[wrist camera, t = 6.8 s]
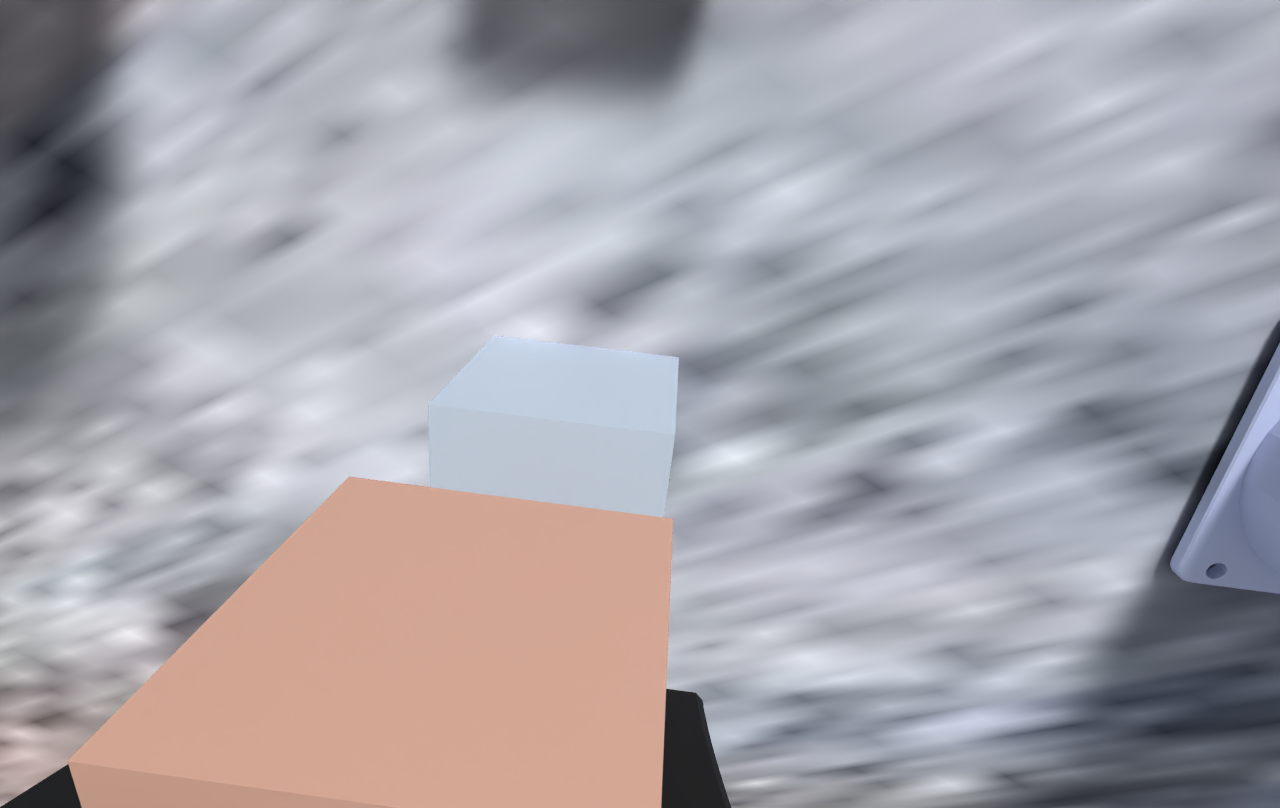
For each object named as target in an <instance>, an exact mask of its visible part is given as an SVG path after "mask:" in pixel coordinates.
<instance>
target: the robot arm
mask: <svg viewBox="0 0 1280 808" xmlns="http://www.w3.org/2000/svg"><path fill="white" fill-rule="evenodd" d="M1215 563H1216V564H1215ZM1213 564H1215V565H1214V566H1213V567H1212V568H1210V569H1208V568H1209V567H1210V566H1211V565H1213ZM1170 566H1171V569H1172V571H1173V572H1175V573H1176V574H1177V575H1178V576H1179V577H1180V578H1181V579H1182V580H1184V581H1187V582H1191V583H1199V584H1207V585H1214V586H1222V587H1230V588H1237V589H1245V590H1253V591H1261V592H1268V593H1276V594H1280V343H1279V345H1278V347H1277V349H1276V351H1275V353H1274V355H1273V357H1272V359H1271V361H1270V363H1269V365H1268V367H1267V369H1266V371H1265V373H1264V375H1263V377H1262V379H1261V381H1260V383H1259V385H1258V387H1257V389H1256V391H1255V393H1254V395H1253V397H1252V399H1251V401H1250V403H1249V405H1248V407H1247V409H1246V411H1245V413H1244V415H1243V417H1242V419H1241V421H1240V423H1239V425H1238V427H1237V429H1236V431H1235V433H1234V435H1233V437H1232V439H1231V441H1230V443H1229V445H1228V447H1227V449H1226V451H1225V453H1224V455H1223V457H1222V459H1221V461H1220V463H1219V465H1218V467H1217V469H1216V471H1215V473H1214V475H1213V477H1212V479H1211V481H1210V483H1209V485H1208V487H1207V489H1206V491H1205V493H1204V495H1203V497H1202V499H1201V501H1200V503H1199V505H1198V507H1197V509H1196V511H1195V513H1194V515H1193V517H1192V519H1191V521H1190V523H1189V525H1188V527H1187V529H1186V531H1185V533H1184V535H1183V537H1182V539H1181V541H1180V543H1179V545H1178V547H1177V549H1176V551H1175V553H1174V555H1173V557H1172V559H1171V563H1170ZM1207 569H1208V570H1207ZM0 808H82V807H81V803H80V800H79V797H78V794H77V791H76V787H75V784H74V781H73V778H72V774H71V771H70V768H69V765H66V766H65V767H63V768H62V769H60V770H58V771H57V772H55V773H54V774H52V775H50V776H49V777H47V778H46V779H44V780H43V781H41V782H39V783H38V784H36V785H35V786H33V787H32V788H30V789H28V790H27V791H25V792H24V793H22V794H20V795H19V796H17V797H16V798H14V799H13V800H11V801H9V802H8V803H6V804H5V805H3V806H1V807H0ZM661 808H731V805H730V802H729V799H728V796H727V793H726V790H725V787H724V784H723V781H722V777H721V774H720V771H719V768H718V764H717V761H716V758H715V754H714V750H713V747H712V743H711V739H710V735H709V731H708V727H707V722H706V718H705V713H704V708H703V701H702V699H701V698H700V697H699V696H698V695H697V694H696V693H693V692H685V691H678V690H671V689H666V704H665V728H664V753H663V777H662V801H661Z"/></svg>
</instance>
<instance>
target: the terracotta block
mask: <svg viewBox="0 0 1280 808" xmlns="http://www.w3.org/2000/svg"><path fill="white" fill-rule="evenodd" d="M672 534H673V519H671V518H664V517H656V516H648V515H640V514H633V513H625V512H617V511H610V510H602V509H594V508H586V507H579V506H571V505H563V504H556V503H548V502H540V501H532V500H525V499H517V498H509V497H502V496H494V495H486V494H478V493H471V492H463V491H455V490H448V489H440V488H432V487H424V486H417V485H409V484H401V483H394V482H386V481H378V480H370V479H363V478H355V477H348V478H347V479H346V480H345V481H344V482H343V483H342V484H341V485H340V486H339V487H338V488H337V489H336V490H335V491H334V492H333V493H332V494H331V496H330V497H329V498H328V499H327V500H326V501H325V502H324V503H323V504H322V505H321V506H320V507H319V508H318V509H317V510H316V511H315V512H314V513H313V514H312V515H311V516H310V517H309V518H308V519H307V520H306V521H305V522H304V523H303V524H302V525H301V526H300V527H299V528H298V529H297V530H296V531H295V532H294V533H293V534H292V535H291V536H290V537H289V538H288V539H287V540H286V541H285V542H284V543H283V544H282V545H281V546H280V547H279V548H278V549H277V550H276V551H275V552H274V553H273V554H272V555H271V556H270V557H269V558H268V559H267V560H266V561H265V562H264V563H263V564H262V565H261V566H260V567H259V568H258V569H257V570H256V571H255V572H254V573H253V574H252V575H251V576H250V577H249V578H248V579H247V580H246V581H245V582H244V583H243V584H242V585H241V586H240V587H239V588H238V589H237V591H236V592H235V593H234V594H233V595H232V596H231V597H230V598H229V599H228V600H227V601H226V602H225V603H224V604H223V605H222V606H221V607H220V608H219V609H218V610H217V611H216V612H215V613H214V614H213V615H212V616H211V617H210V618H209V619H208V620H207V621H206V622H205V623H204V624H203V625H202V626H201V627H200V628H199V629H198V630H197V631H196V632H195V633H194V634H193V635H192V636H191V637H190V638H189V639H188V640H187V641H186V642H185V643H184V644H183V645H182V646H181V647H180V648H179V649H178V650H177V651H176V652H175V653H174V654H173V655H172V656H171V657H170V658H169V659H168V660H167V661H166V662H165V663H164V664H163V665H162V666H161V667H160V668H159V669H158V670H157V671H156V672H155V673H154V674H153V675H152V676H151V677H150V678H149V679H148V680H147V681H146V682H145V683H144V684H143V685H142V687H141V688H140V689H139V690H138V691H137V692H136V693H135V694H134V695H133V696H132V697H131V698H130V699H129V700H128V701H127V702H126V703H125V704H124V705H123V706H122V707H121V708H120V709H119V710H118V711H117V712H116V713H115V714H114V715H113V716H112V717H111V718H110V719H109V720H108V721H107V722H106V723H105V724H104V725H103V726H102V727H101V728H100V729H99V730H98V731H97V732H96V733H95V734H94V735H93V736H92V737H91V738H90V739H89V740H88V741H87V742H86V743H85V744H84V745H83V746H82V747H81V748H80V749H79V750H78V751H77V752H76V753H75V754H74V755H73V756H72V757H71V758H70V759H69V760H68V761H67V762H68V765H69V768H70V771H71V774H72V778H73V781H74V784H75V787H76V791H77V794H78V797H79V800H80V803H81V807H82V808H661V801H662V777H663V753H664V728H665V704H666V680H667V656H668V631H669V607H670V583H671V559H672Z"/></svg>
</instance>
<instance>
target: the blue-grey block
mask: <svg viewBox="0 0 1280 808" xmlns="http://www.w3.org/2000/svg"><path fill="white" fill-rule="evenodd" d="M678 363H679V357H671V356H663V355H654V354H646V353H638V352H629V351H621V350H612V349H604V348H596V347H587V346H579V345H570V344H562V343H554V342H545V341H537V340H528V339H520V338H512V337H503V336H495V335H494V336H493V337H492V338H491V339H490V340H489V342H488V343H487V344H486V345H485V346H484V347H483V348H482V349H481V350H480V351H479V352H478V353H477V354H476V355H475V356H474V357H473V358H472V359H471V360H470V361H469V362H468V363H467V364H466V365H465V367H464V368H463V369H462V370H461V371H460V372H459V373H458V374H457V375H456V376H455V377H454V378H453V379H452V380H451V381H450V382H449V383H448V384H447V385H446V386H445V387H444V388H443V389H442V390H441V392H440V393H439V394H438V395H437V396H436V397H435V398H434V399H433V400H432V401H431V402H430V403H429V404H428V421H429V466H430V487H432V488H440V489H448V490H455V491H463V492H471V493H478V494H486V495H494V496H502V497H509V498H517V499H525V500H532V501H540V502H548V503H556V504H563V505H571V506H579V507H586V508H594V509H602V510H610V511H617V512H625V513H633V514H640V515H648V516H656V517H664V512H665V505H666V498H667V490H668V483H669V475H670V468H671V461H672V453H673V446H674V439H675V425H676V404H677V384H678Z"/></svg>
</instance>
